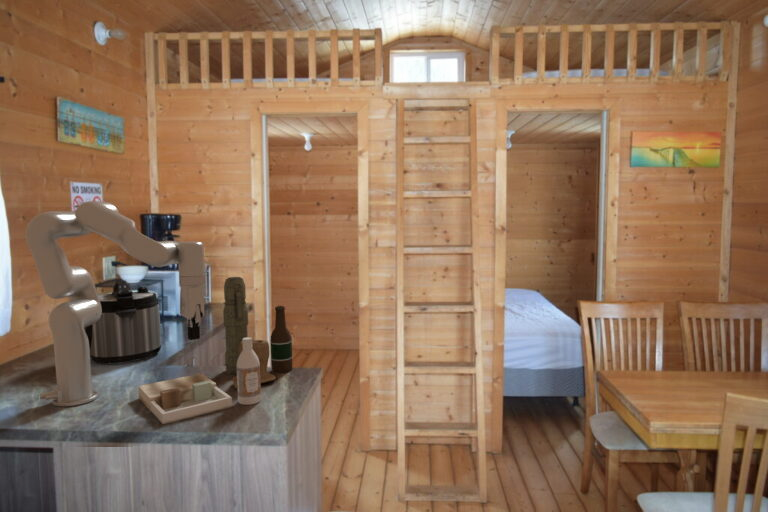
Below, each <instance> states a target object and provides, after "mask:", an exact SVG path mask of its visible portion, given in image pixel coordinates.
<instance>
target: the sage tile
mask: <svg viewBox="0 0 768 512" xmlns="http://www.w3.org/2000/svg"><path fill="white" fill-rule="evenodd" d="M192 392H193V400H194V401H195V402H197V401H201V400H205V399H210V398H211V382H209V381H204V382H199V383H195V384H192Z"/></svg>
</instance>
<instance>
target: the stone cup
mask: <svg viewBox="0 0 768 512" xmlns="http://www.w3.org/2000/svg"><path fill="white" fill-rule="evenodd" d="M252 349H253V351H254V352H255V353H256V355H257V357H258V359H259V363H260V385H261V384H265V383H268V382H272V381H274V380H276V378H277V377H276V376H275V375H274V374H273V373H271V372H269V371H268V368H267V367H268V363H269V358H270V344H269V342H268V340H265V339H254V340H253V339H252ZM242 351H243V344H242V342H240V345H239V356H240V354H241V352H242ZM232 383H233V387H234V389H237V375H236V376H234V377H232Z"/></svg>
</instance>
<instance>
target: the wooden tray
mask: <svg viewBox="0 0 768 512" xmlns="http://www.w3.org/2000/svg"><path fill="white" fill-rule="evenodd" d="M204 381H209V382H211V395H214V391H213V387H217V383H216V382H215V381H213V380H211V378H209V377H208V376H206V375H204V374H203V373H197V374H195V373H194V374H191V375H187V376H181V377H176V378H171V379H166V380H162V381H157V382H153V383H147V384H142V385H138V387H137V388H138V399H139V400H140V402H142V404H143V405H144V406H145V407H146V408H147V409H148V411H150V412H151V405H150V401H155V402H156V403H157V404H158V405H159V406H160V407H161V395H160V391H164V390H169V389H173V388H179V389H180V399H181V402H185V401H190V400H193V392H192V384H195V383H199V382H204Z"/></svg>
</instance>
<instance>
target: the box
mask: <svg viewBox="0 0 768 512" xmlns="http://www.w3.org/2000/svg"><path fill="white" fill-rule="evenodd" d="M213 391H214V395H211V398H210V399H205V400H201V401H197V402H195V401H194V400H190V401H185V402H181V406H177V407H173V408H169V409H165V410H163V409H162V408H161V407H160V406H159V405H158V404H157V403H156V402H155V401H150V405H151V411H150V412H151V413H152V415H153V416H155V418H157V419H158V420H157V421H159V422H160V423H161V424H162V425H166V424H171V423H176V422H178V421H182V420H186V419H190V418H191V419H192V418H194V417H198V416H202V415H206V414H209V413H214V412H218V411H222V410H225V409H230V408H233V396H231V395H229V394H228V393H226V392H225V391H223V390H222V389H221V388H219V387H218V386H216V387H213Z"/></svg>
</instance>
